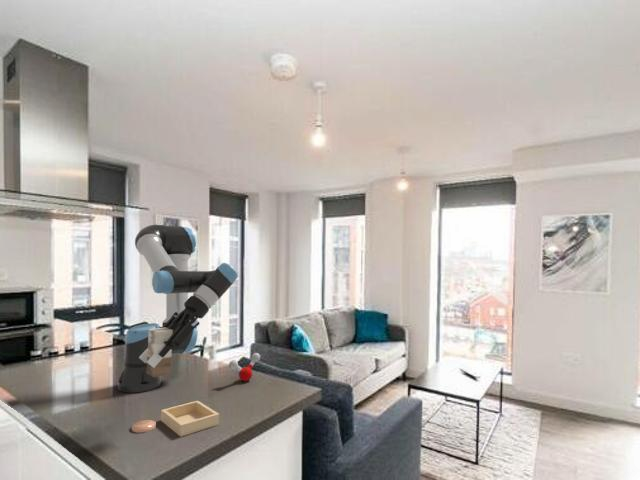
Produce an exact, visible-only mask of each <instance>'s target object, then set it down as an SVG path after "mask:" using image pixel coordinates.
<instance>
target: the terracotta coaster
mask: <svg viewBox="0 0 640 480" xmlns="http://www.w3.org/2000/svg"><path fill="white" fill-rule="evenodd" d="M156 426H157V423H156V421H154V420H152V419H143V420H139V421H136V422H134V423H133V424H132V425H131V431H132V432H133V433H136V434H138V433H139V434H141V433H142V434H143V433H147V432H150V431H153V430H155V428H156Z"/></svg>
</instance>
